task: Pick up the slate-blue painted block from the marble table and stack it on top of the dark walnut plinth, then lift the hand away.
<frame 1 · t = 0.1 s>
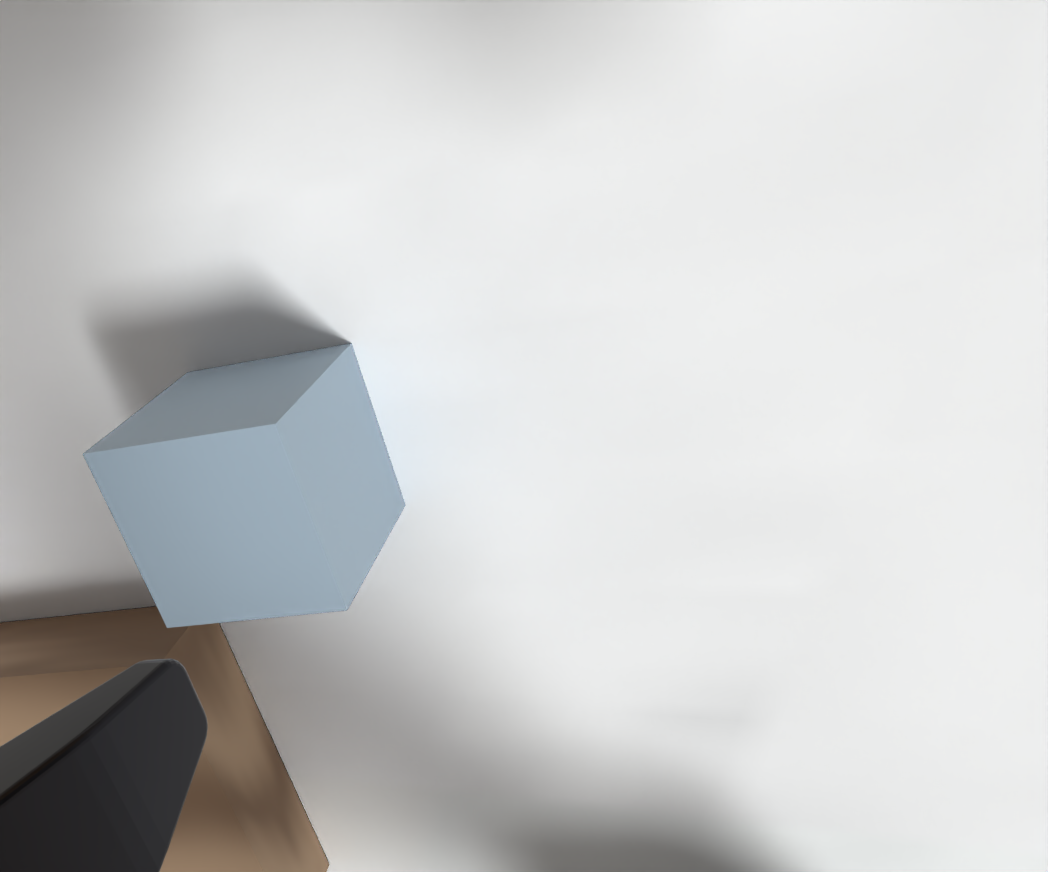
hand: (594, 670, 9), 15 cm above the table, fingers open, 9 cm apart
walnut plinth: (125, 751, 33), on the table
slate block: (299, 438, 26), on the table
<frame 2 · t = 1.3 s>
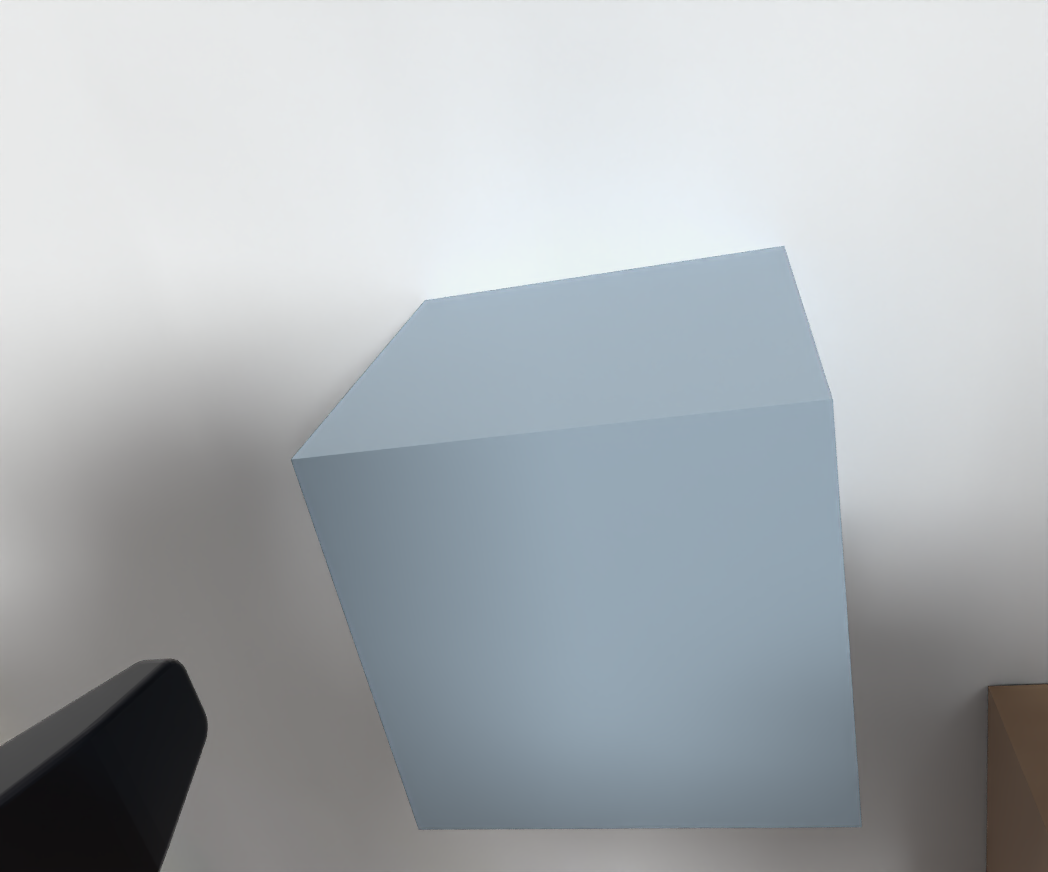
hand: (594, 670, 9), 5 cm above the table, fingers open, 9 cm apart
slate block: (624, 434, 14), on the table
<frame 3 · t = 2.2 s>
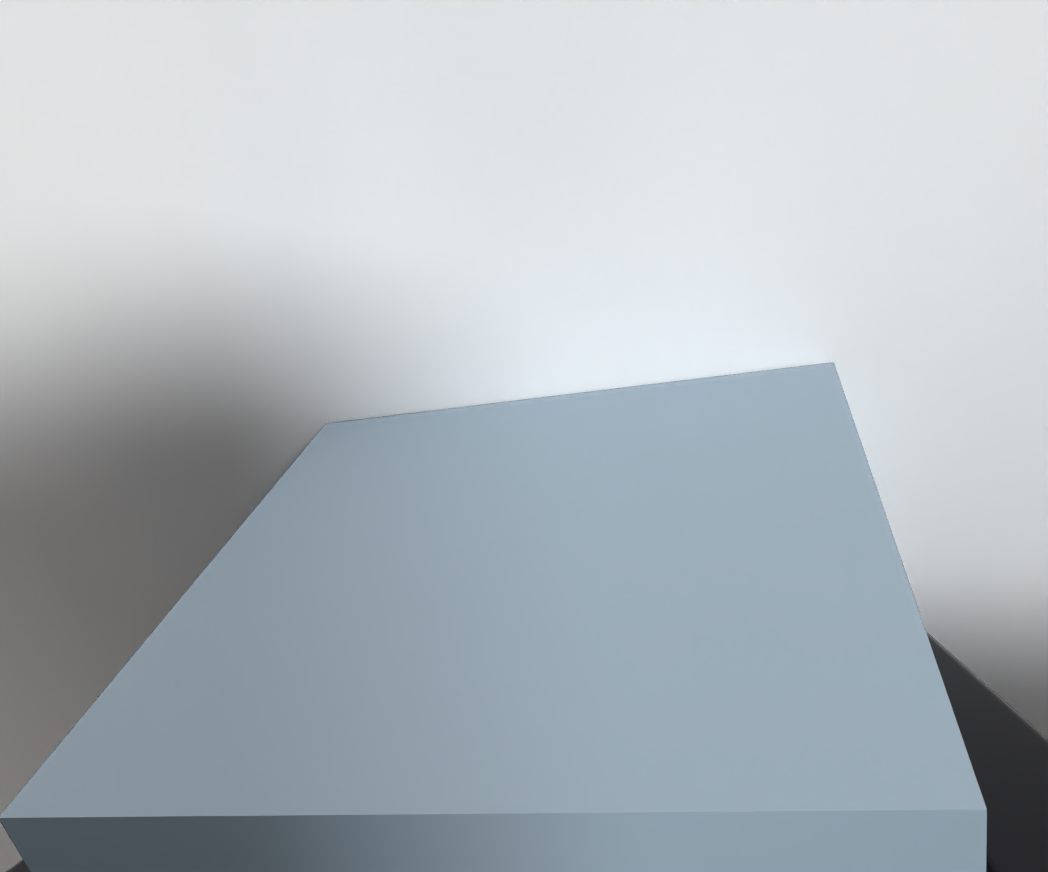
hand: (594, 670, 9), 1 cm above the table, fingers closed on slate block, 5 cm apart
slate block: (605, 606, 10), on the table, touching gripper
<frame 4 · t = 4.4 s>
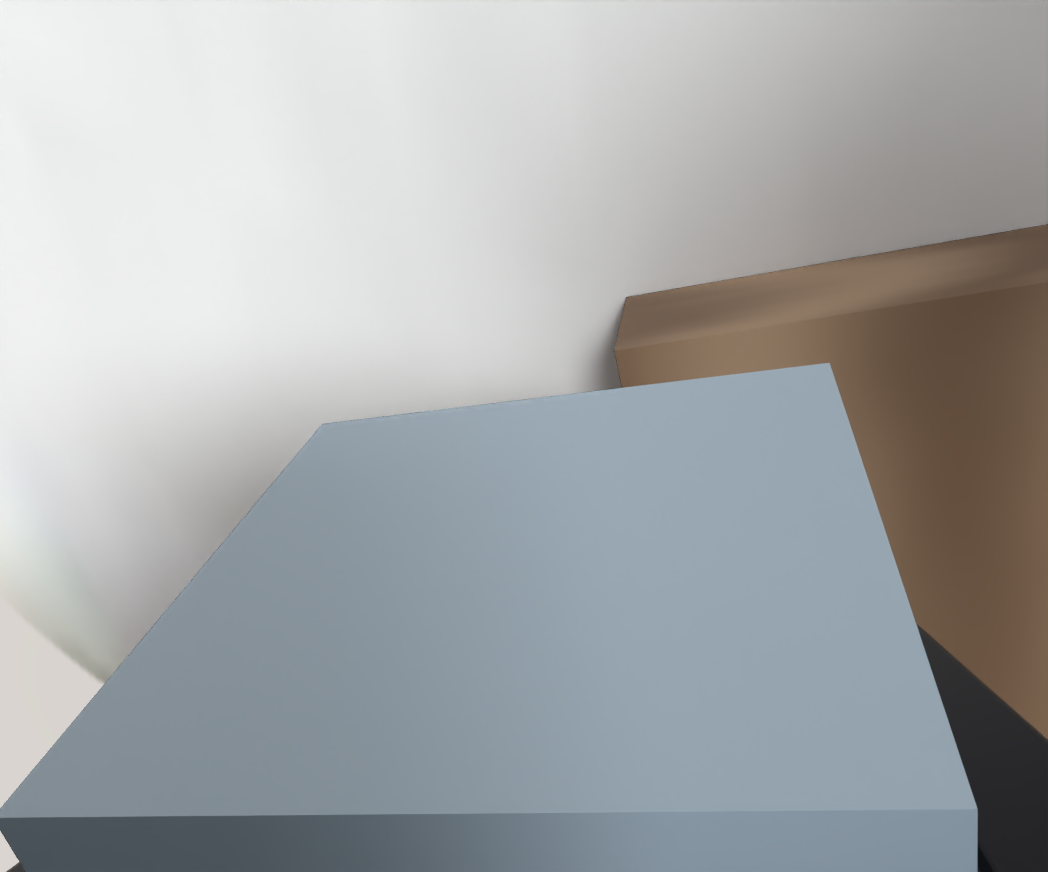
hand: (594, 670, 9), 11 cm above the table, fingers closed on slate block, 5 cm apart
walnut plinth: (957, 517, 19), on the table
slate block: (601, 606, 10), point 10 cm above the table, touching gripper
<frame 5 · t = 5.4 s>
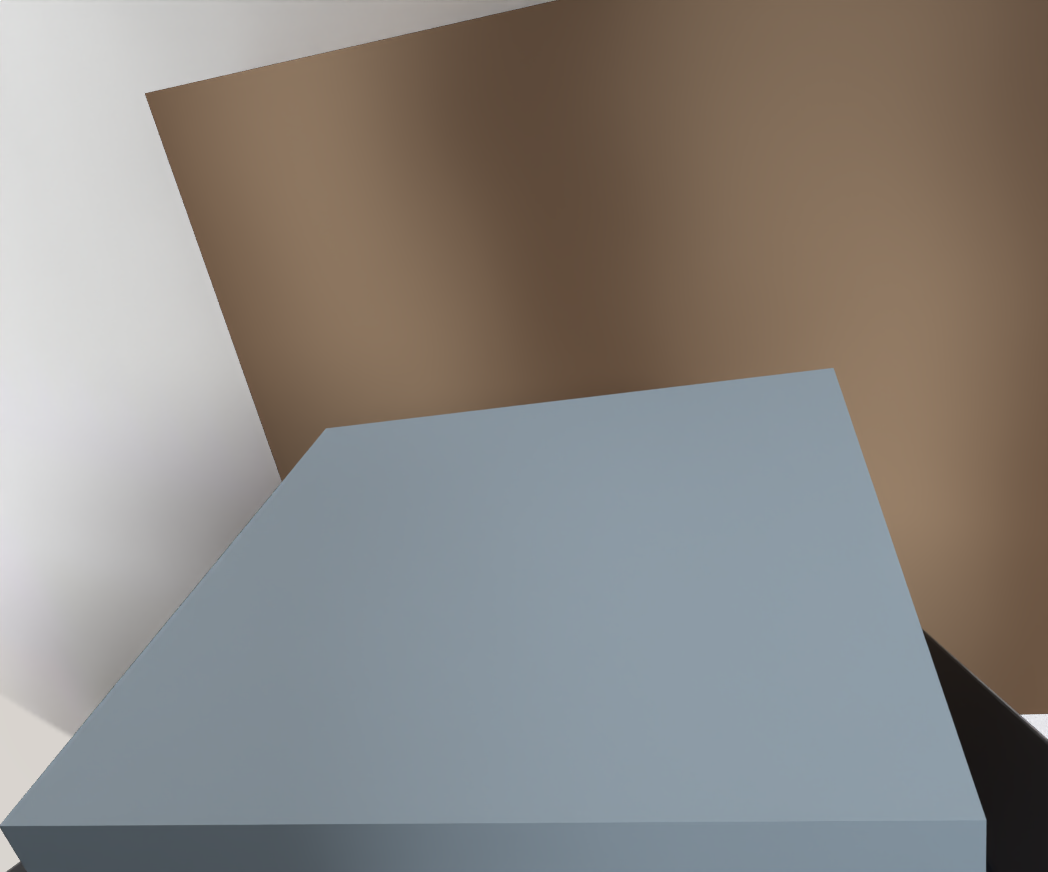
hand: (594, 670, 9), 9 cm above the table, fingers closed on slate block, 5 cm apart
walnut plinth: (641, 354, 17), on the table
slate block: (605, 610, 10), point 8 cm above the table, touching gripper
when the fingers open (5 cm above the table, at t = 6.4 s): slate block stays where it is, resting on walnut plinth.
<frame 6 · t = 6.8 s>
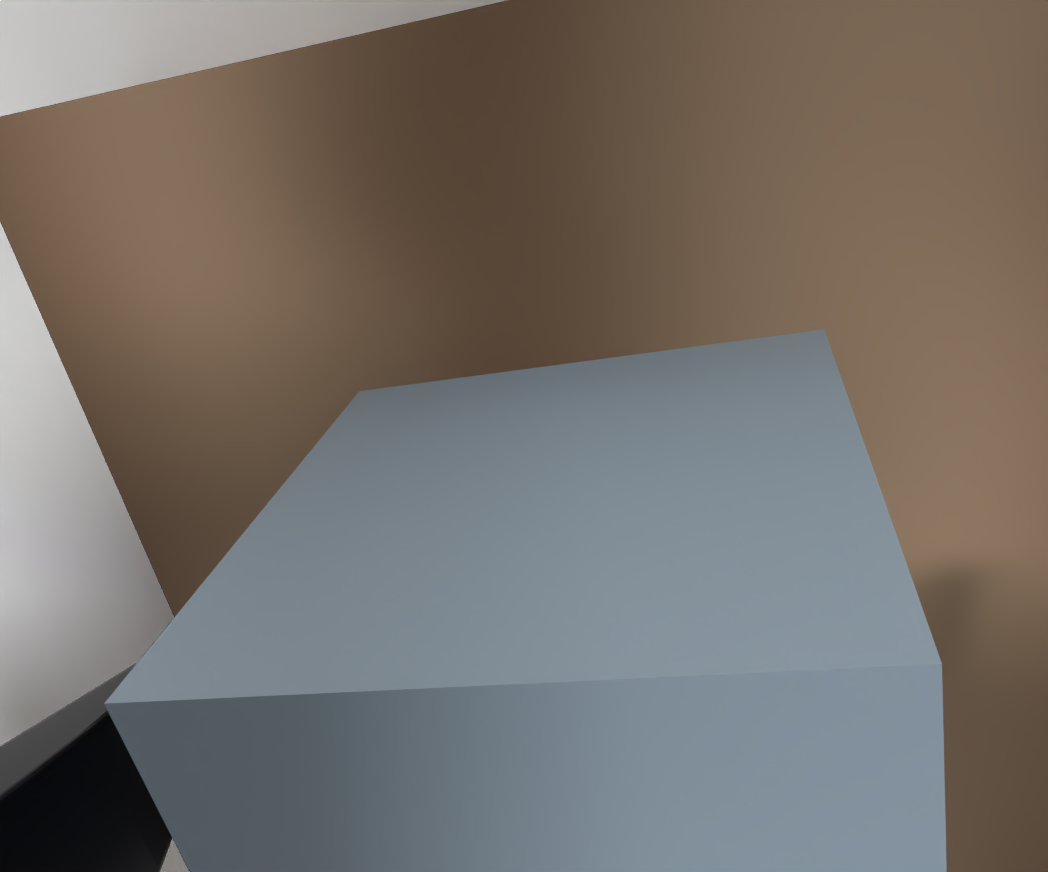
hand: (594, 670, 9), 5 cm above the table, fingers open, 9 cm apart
walnut plinth: (628, 442, 13), on the table
slate block: (615, 559, 11), point 3 cm above the table, touching walnut plinth
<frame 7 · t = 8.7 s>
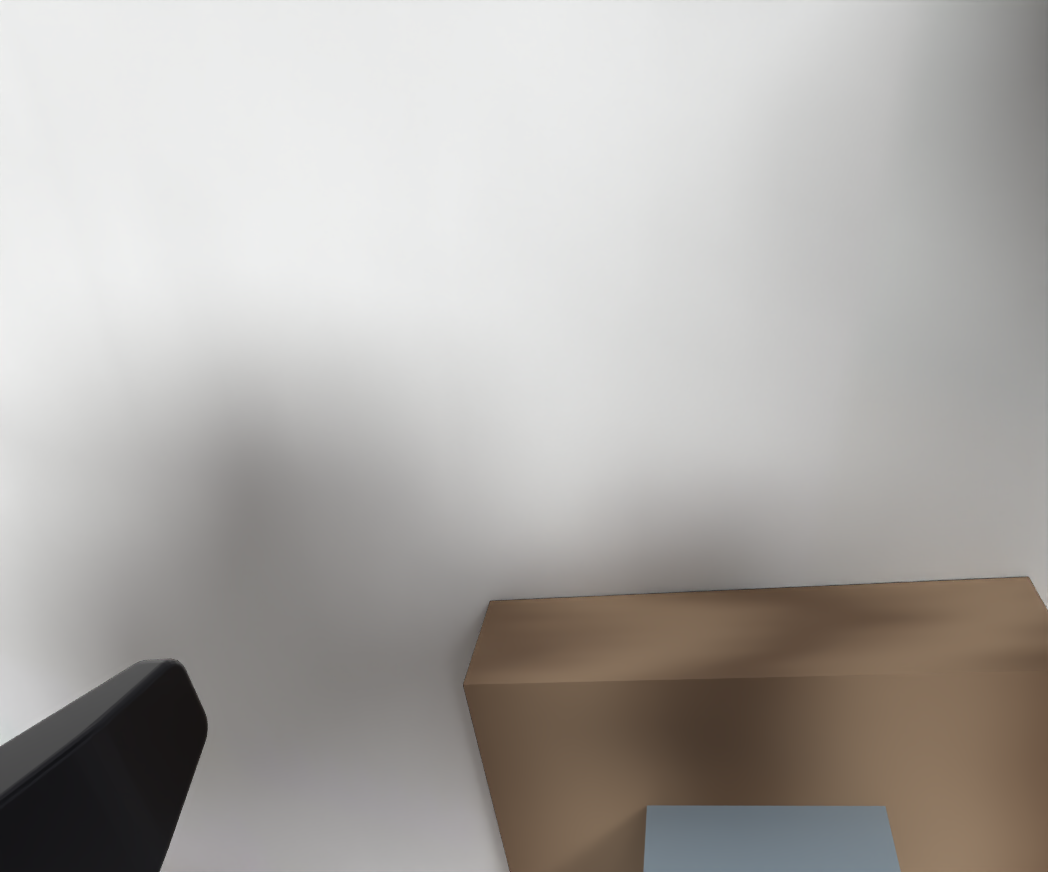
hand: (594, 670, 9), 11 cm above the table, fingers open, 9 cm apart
walnut plinth: (758, 782, 23), on the table
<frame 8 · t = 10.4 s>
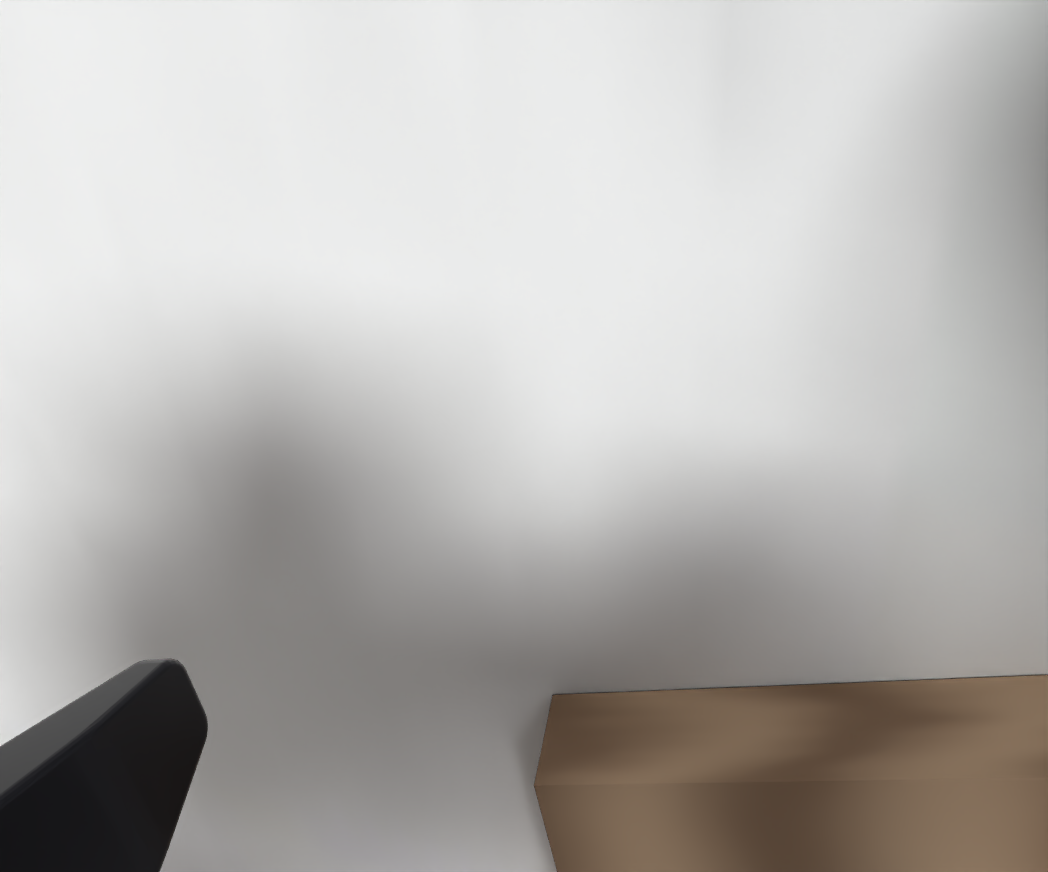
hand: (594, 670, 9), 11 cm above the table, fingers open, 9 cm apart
walnut plinth: (811, 858, 25), on the table
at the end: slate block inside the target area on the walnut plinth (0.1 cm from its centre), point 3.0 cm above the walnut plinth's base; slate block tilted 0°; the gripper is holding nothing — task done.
